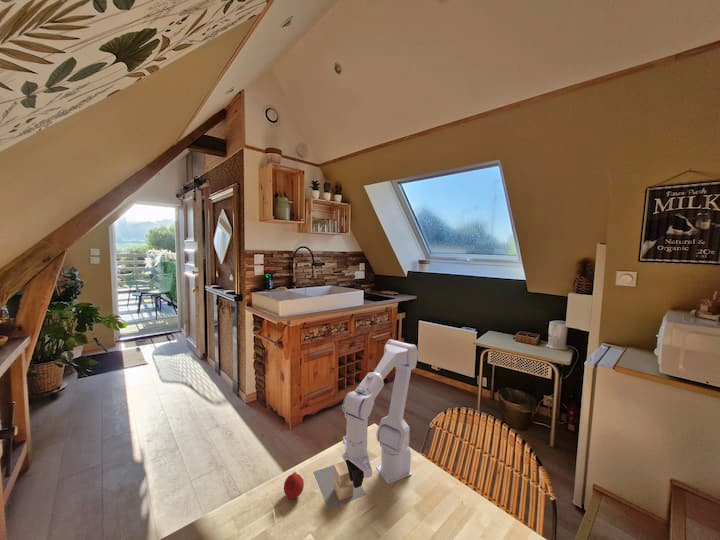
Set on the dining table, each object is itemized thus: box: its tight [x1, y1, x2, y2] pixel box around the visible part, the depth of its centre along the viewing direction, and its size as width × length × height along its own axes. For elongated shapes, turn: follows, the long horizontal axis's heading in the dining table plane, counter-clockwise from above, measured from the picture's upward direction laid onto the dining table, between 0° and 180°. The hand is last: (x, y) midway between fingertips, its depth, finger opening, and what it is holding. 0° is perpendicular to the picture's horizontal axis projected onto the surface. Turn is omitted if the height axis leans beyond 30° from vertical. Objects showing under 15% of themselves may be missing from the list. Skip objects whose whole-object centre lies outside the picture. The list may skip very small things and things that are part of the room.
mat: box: [313, 460, 367, 510], centre depth 92 cm, size 12×15×1 cm
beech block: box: [333, 460, 353, 501], centre depth 88 cm, size 4×4×8 cm
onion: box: [283, 471, 305, 500], centre depth 87 cm, size 6×6×8 cm
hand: (355, 482), depth 80 cm, fingers closed
